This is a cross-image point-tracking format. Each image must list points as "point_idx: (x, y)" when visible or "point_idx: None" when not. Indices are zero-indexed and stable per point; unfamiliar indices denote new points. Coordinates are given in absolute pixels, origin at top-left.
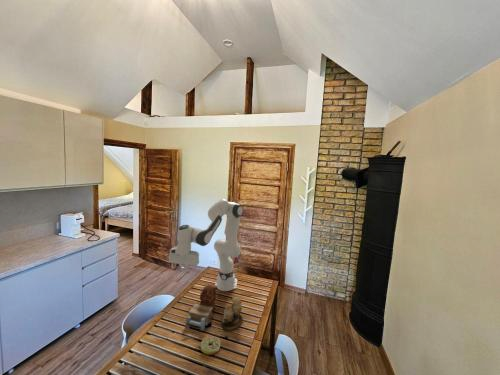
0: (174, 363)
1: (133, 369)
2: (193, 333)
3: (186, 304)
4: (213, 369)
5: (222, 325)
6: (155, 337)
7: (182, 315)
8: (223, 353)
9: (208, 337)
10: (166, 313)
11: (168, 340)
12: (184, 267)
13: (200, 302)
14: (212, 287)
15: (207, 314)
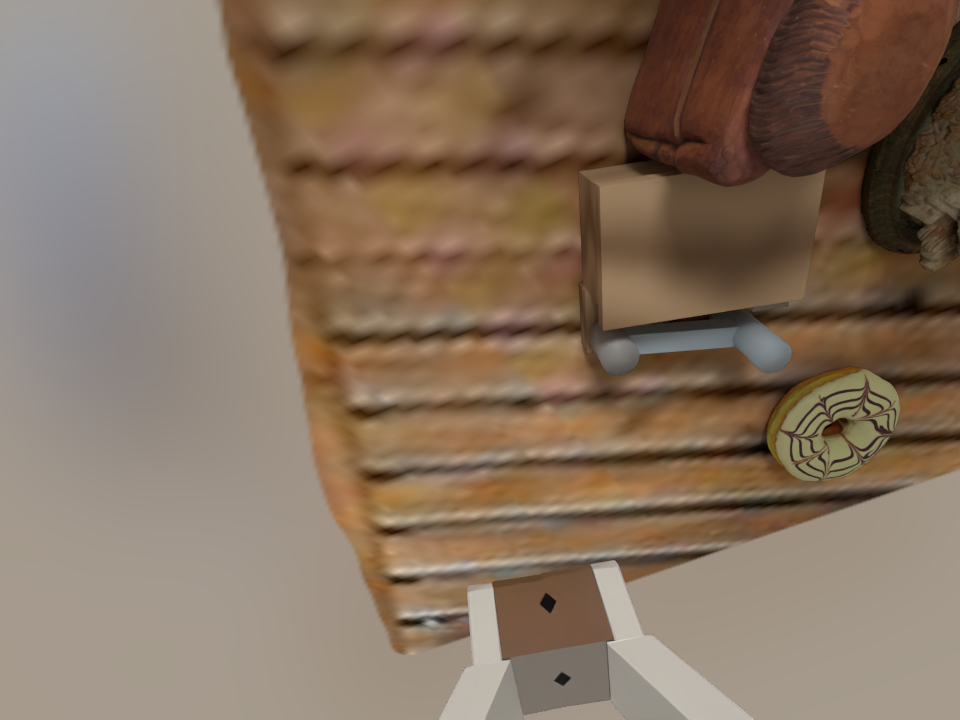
0: (660, 544)
1: None
2: (669, 363)
3: (399, 56)
4: (860, 499)
5: (887, 230)
6: (449, 480)
7: (477, 236)
8: (903, 412)
9: (817, 405)
10: (323, 275)
11: (542, 466)
12: (586, 667)
13: (672, 164)
14: (952, 24)
15: (796, 285)
